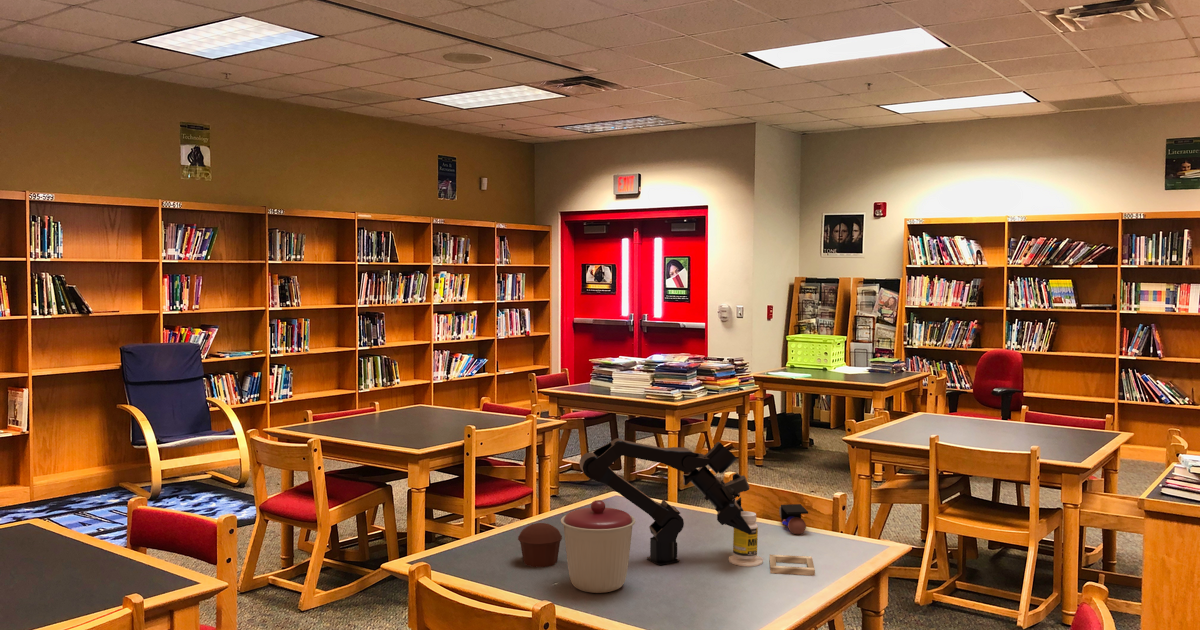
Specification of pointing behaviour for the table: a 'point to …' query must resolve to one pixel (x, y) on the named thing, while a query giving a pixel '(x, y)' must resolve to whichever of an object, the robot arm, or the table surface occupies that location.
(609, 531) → the canister
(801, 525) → the figurine character
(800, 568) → the pocket frame
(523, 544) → the muffin
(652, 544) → the robot arm
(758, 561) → the coaster
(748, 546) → the supplement bottle
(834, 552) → the table surface
